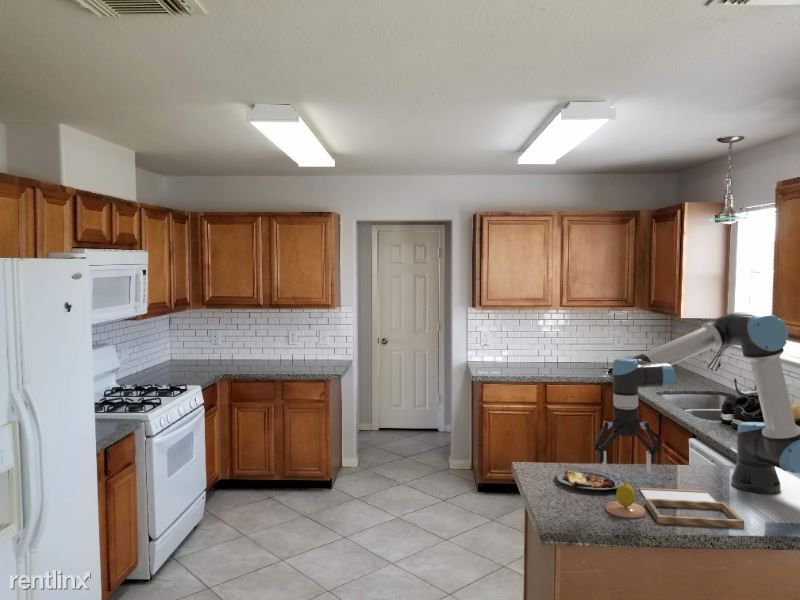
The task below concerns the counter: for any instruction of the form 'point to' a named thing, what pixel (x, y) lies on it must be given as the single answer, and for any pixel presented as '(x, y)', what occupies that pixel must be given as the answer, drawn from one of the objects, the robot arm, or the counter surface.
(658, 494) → the lid
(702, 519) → the wooden frame
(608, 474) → the food plate
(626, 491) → the lemon
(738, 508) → the counter surface
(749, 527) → the counter surface
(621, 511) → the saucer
